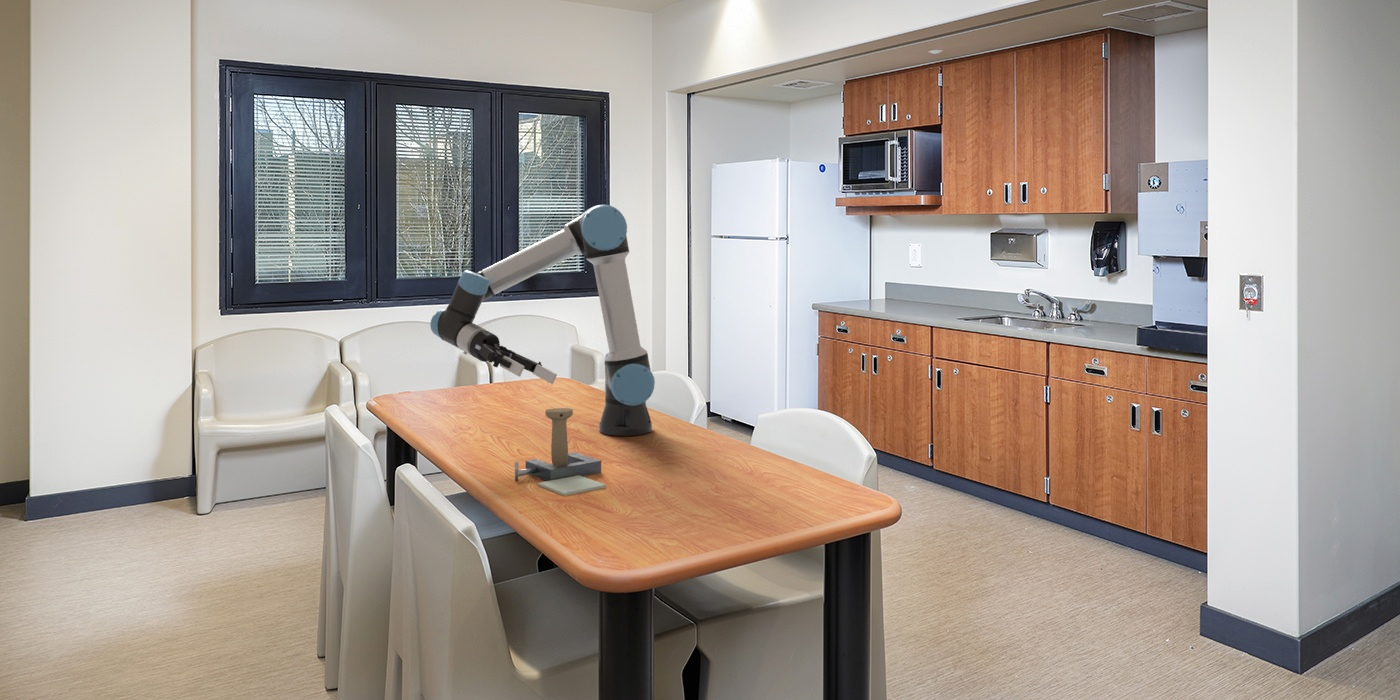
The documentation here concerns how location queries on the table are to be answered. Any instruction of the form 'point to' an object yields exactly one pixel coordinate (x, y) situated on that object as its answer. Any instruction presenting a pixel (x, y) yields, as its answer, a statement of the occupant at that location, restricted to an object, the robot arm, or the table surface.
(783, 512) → the table surface
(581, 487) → the mat
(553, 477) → the vise
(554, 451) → the handle
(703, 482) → the table surface
